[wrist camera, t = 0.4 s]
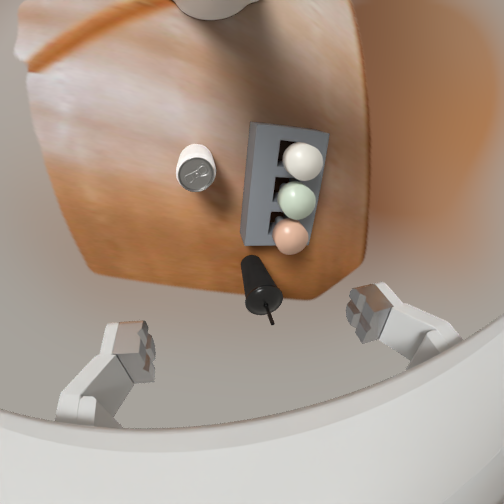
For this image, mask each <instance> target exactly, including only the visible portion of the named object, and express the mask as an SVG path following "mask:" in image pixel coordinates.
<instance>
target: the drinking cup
mask: <svg viewBox="0 0 504 504" xmlns="http://www.w3.org/2000/svg"><path fill="white" fill-rule="evenodd" d="M241 269H242V276H243V283H244V290H245V296H246V300H245V305H246V308H247V309H248V310H249V311H250V312H251V313H253V314H256V315H265V314H268V318H269V320H270V323H271V325H274V321H273V318H272V315H271V312H273V311H275V310H276V309H277V308H278V307H279V306H280V305H281V303H282V300H283V295H282V292H281V290H280V289H279V288H277V286H276V285H275V283H274V281H273V280H272V278H271V276H270V275H269V273H268V271H267V270H266V268H265V267H264V265H263V263H262V262H261V260H260V258H259V257H257V256H255V255H249V256H247V257H245V258H244V259H243V260H242V262H241Z"/></svg>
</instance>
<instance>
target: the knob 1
mask: <svg viewBox="0 0 504 504" xmlns="http://www.w3.org/2000/svg"><path fill="white" fill-rule="evenodd" d="M283 165H284V168H285V169H286V171H287V172H289V173H290V174H291V175H292V176H294V177H295V178H296V179H298V180H301V181H308V180H311V179H313V178H315V177H316V176H317V175H318V174H319V173H320V171H321V169H322V166H323V158H322V155H321V153H320V151H319V150H318V149H317V148H315V147H313V146H311V145H309V144H306V143H303V142H296V143H293V144H291V145H290V146H289V147H288V148H287V149H285V151H284V154H283Z"/></svg>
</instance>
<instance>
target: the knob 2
mask: <svg viewBox="0 0 504 504" xmlns="http://www.w3.org/2000/svg"><path fill="white" fill-rule="evenodd" d="M275 224H276V225H275V227H274V229H273V232H272V237H273V240H274V242H275V244H276V246H277V247H278V249H279V250H280V251H281V252H282V253H284V254H287V255H292V254H296V253H298V252H300V251H301V250H303V249H304V247H305V246H306V244H307V242H308V232H307V231H306V229H305V228H304V227H303V226H302V224H301V223H300V222H299V221H298V220H294V219H291V218H286V219H284V218H283V217H282V216H277V217H276V218H275Z"/></svg>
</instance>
